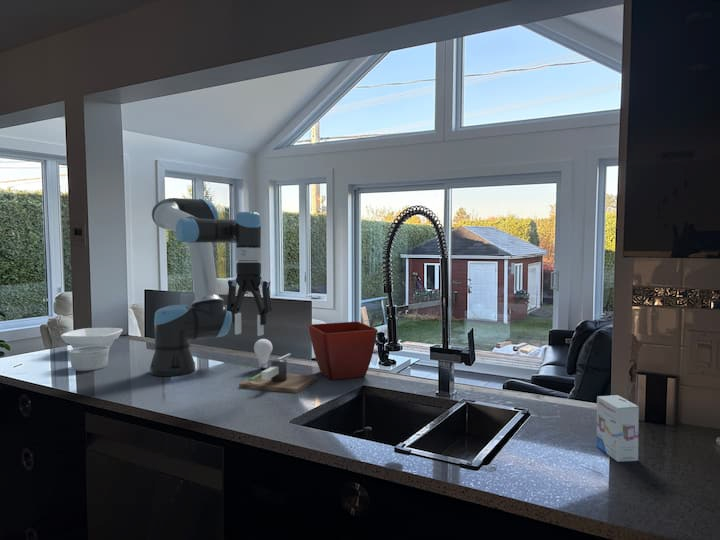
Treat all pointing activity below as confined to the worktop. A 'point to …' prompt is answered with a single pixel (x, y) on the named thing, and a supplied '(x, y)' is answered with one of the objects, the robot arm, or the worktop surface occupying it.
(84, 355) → the ramekin
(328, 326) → the plant pot
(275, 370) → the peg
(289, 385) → the board
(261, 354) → the light bulb
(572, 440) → the worktop surface
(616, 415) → the ink box
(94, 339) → the bowl
